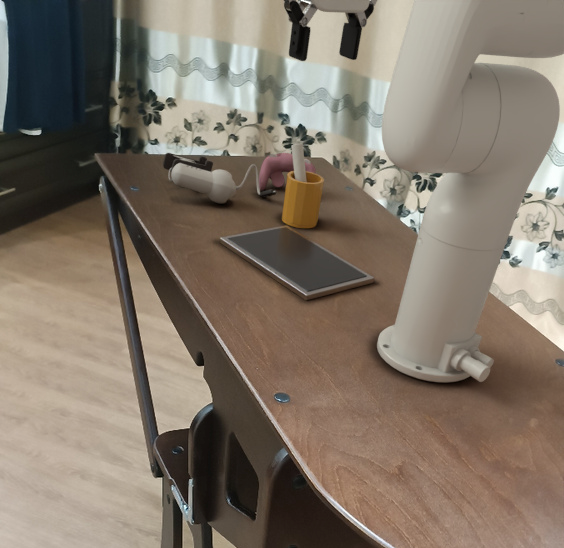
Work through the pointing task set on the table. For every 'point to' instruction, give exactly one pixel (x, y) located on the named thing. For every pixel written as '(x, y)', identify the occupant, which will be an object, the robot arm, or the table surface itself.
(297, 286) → the tablet
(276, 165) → the video game controller
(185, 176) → the clip-on lamp
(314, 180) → the pen cup
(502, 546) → the table surface
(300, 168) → the stylus
